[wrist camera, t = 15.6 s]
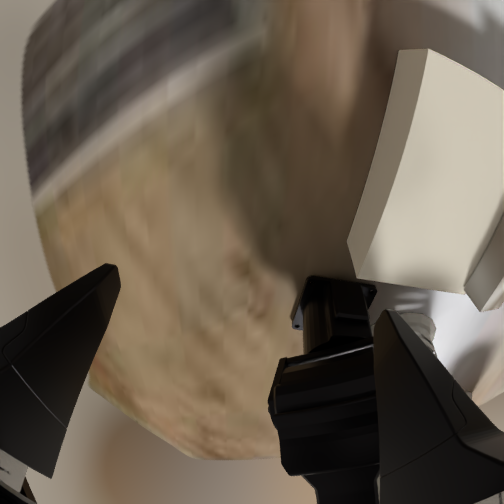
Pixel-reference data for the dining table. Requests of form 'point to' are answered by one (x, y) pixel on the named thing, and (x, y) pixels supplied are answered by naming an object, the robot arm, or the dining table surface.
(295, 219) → the dining table surface
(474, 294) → the scraper
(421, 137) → the cream riser block
